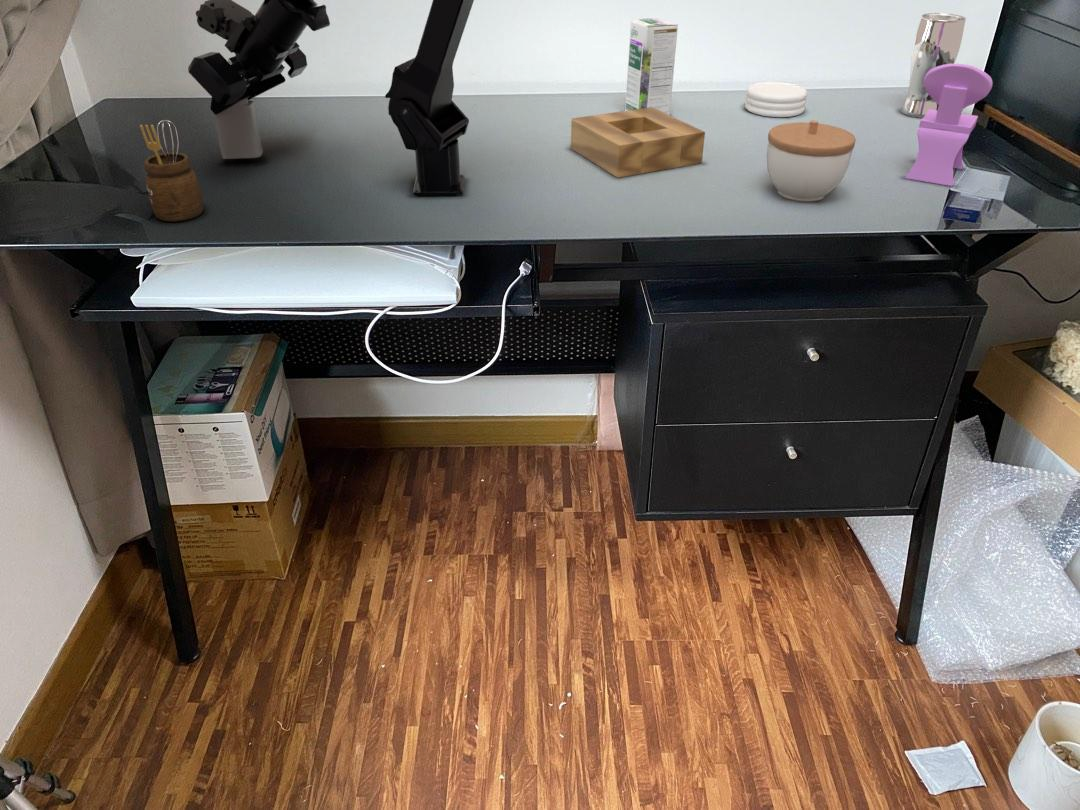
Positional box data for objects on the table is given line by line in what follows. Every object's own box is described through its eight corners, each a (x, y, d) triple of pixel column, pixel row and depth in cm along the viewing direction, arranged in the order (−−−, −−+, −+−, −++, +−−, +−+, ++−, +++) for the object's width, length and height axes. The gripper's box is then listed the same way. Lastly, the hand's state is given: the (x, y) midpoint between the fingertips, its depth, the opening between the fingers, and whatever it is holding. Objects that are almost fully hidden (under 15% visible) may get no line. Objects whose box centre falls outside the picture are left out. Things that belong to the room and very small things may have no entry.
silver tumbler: (898, 117, 142) (921, 19, 133) (897, 105, 147) (919, 11, 139) (943, 120, 140) (969, 22, 132) (940, 109, 146) (965, 14, 137)
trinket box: (843, 183, 116) (857, 113, 111) (844, 212, 108) (859, 137, 102) (762, 175, 119) (773, 106, 113) (757, 203, 110) (768, 130, 105)
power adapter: (259, 157, 122) (242, 69, 115) (220, 158, 121) (201, 70, 115) (263, 150, 124) (247, 64, 118) (225, 152, 124) (207, 65, 117)
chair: (971, 168, 121) (1003, 57, 113) (961, 187, 115) (995, 71, 106) (910, 158, 124) (937, 49, 116) (897, 176, 118) (925, 62, 110)
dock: (617, 177, 118) (619, 145, 115) (570, 148, 128) (571, 118, 126) (701, 163, 123) (705, 131, 120) (650, 136, 133) (652, 106, 131)
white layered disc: (733, 104, 148) (736, 83, 146) (784, 99, 151) (787, 79, 149) (762, 120, 140) (766, 98, 138) (815, 115, 143) (819, 93, 141)
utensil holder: (210, 204, 109) (189, 109, 103) (195, 223, 104) (172, 124, 98) (164, 205, 109) (139, 109, 103) (147, 224, 104) (119, 125, 97)
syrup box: (623, 112, 144) (628, 19, 136) (653, 108, 146) (660, 16, 138) (640, 121, 140) (647, 26, 132) (671, 116, 142) (679, 22, 134)
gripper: (273, -34, 116) (223, 47, 125) (181, -13, 101) (133, 77, 111) (332, 32, 118) (279, 107, 127) (251, 61, 103) (197, 144, 113)
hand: (224, 107), depth 119 cm, fingers closed on power adapter, 4 cm apart
